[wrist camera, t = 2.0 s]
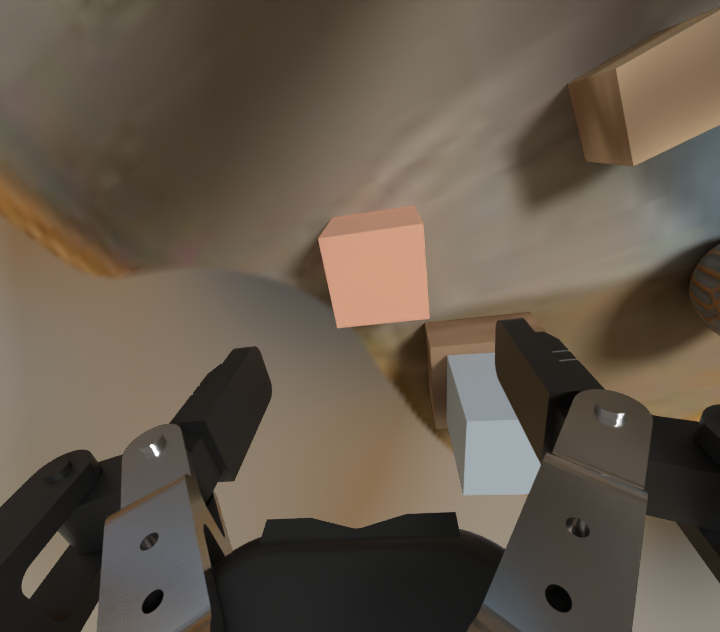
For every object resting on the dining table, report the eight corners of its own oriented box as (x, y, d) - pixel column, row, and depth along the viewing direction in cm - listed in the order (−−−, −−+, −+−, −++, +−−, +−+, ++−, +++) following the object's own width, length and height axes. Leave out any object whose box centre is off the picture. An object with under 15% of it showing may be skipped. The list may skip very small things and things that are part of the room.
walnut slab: (424, 320, 23) (430, 347, 20) (527, 309, 23) (550, 336, 20) (429, 396, 27) (435, 429, 24) (520, 389, 26) (539, 423, 23)
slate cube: (446, 355, 21) (466, 421, 16) (540, 349, 20) (590, 416, 15) (446, 420, 23) (463, 495, 18) (528, 417, 22) (569, 493, 18)
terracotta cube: (332, 217, 20) (317, 238, 16) (414, 205, 20) (423, 223, 15) (346, 291, 23) (337, 328, 18) (420, 282, 22) (429, 318, 18)
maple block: (566, 84, 17) (615, 68, 13) (656, 32, 15) (736, 0, 12) (584, 161, 18) (633, 166, 15) (667, 119, 17) (742, 113, 13)
